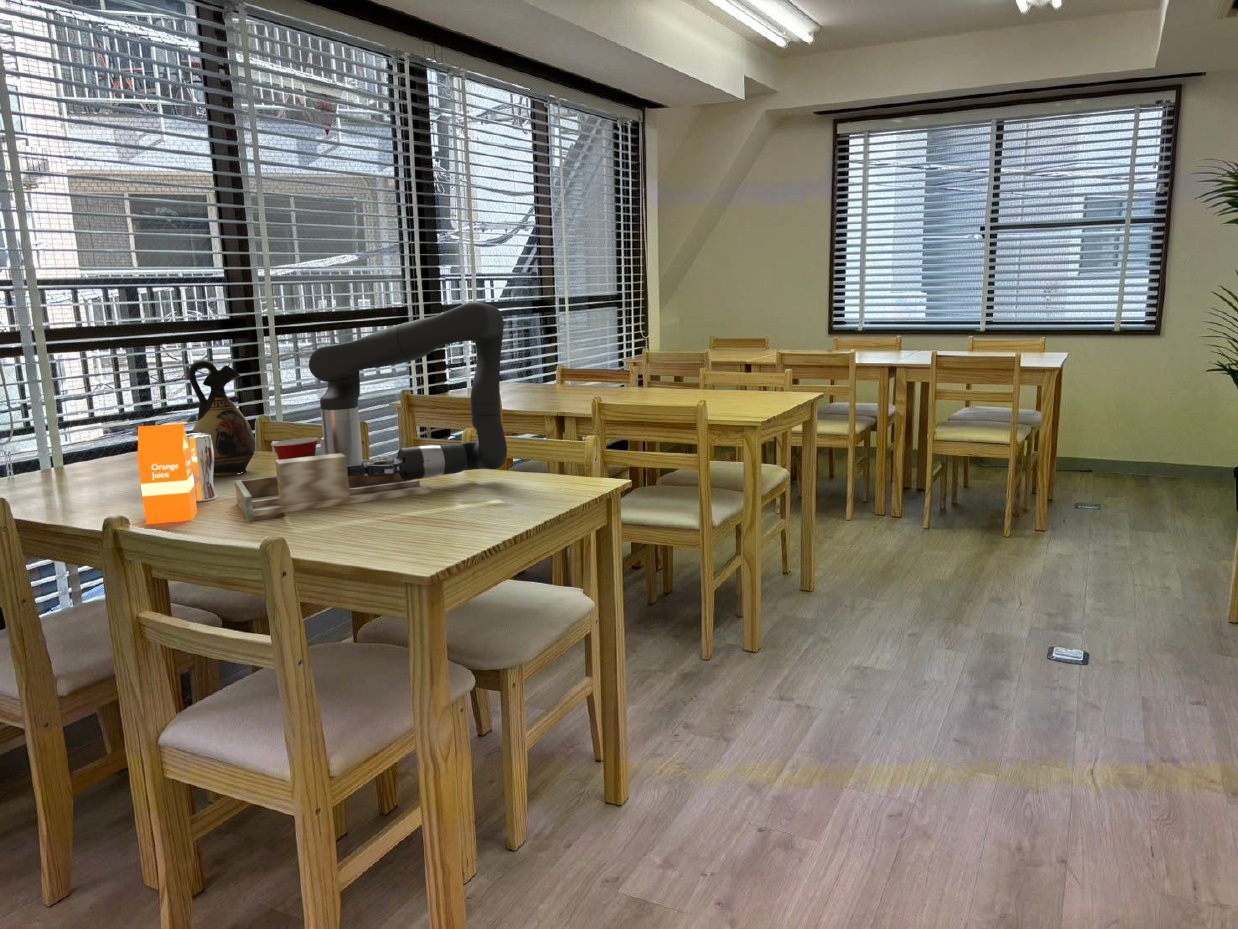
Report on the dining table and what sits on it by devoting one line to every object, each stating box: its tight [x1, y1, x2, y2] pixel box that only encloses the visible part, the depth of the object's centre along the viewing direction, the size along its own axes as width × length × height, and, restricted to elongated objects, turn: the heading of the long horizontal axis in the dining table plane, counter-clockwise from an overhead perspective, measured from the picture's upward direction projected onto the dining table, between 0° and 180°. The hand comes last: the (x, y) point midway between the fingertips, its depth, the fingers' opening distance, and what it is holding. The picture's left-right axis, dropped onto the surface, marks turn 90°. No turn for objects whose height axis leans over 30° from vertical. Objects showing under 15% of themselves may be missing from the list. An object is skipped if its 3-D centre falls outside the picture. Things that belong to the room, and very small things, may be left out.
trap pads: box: [352, 482, 389, 488], centre depth 211 cm, size 20×7×1 cm, turn 118°
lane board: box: [234, 473, 432, 522], centre depth 206 cm, size 39×19×5 cm, turn 118°
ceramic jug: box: [188, 360, 256, 477], centre depth 238 cm, size 17×15×30 cm
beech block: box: [274, 453, 350, 506], centre depth 199 cm, size 14×5×10 cm, turn 119°
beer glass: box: [186, 433, 218, 503], centre depth 209 cm, size 7×7×15 cm
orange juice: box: [136, 423, 198, 525], centre depth 192 cm, size 8×9×20 cm
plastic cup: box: [270, 437, 319, 460], centre depth 219 cm, size 11×11×12 cm
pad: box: [252, 495, 279, 501], centre depth 203 cm, size 8×7×1 cm
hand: (345, 471), depth 202 cm, fingers closed
